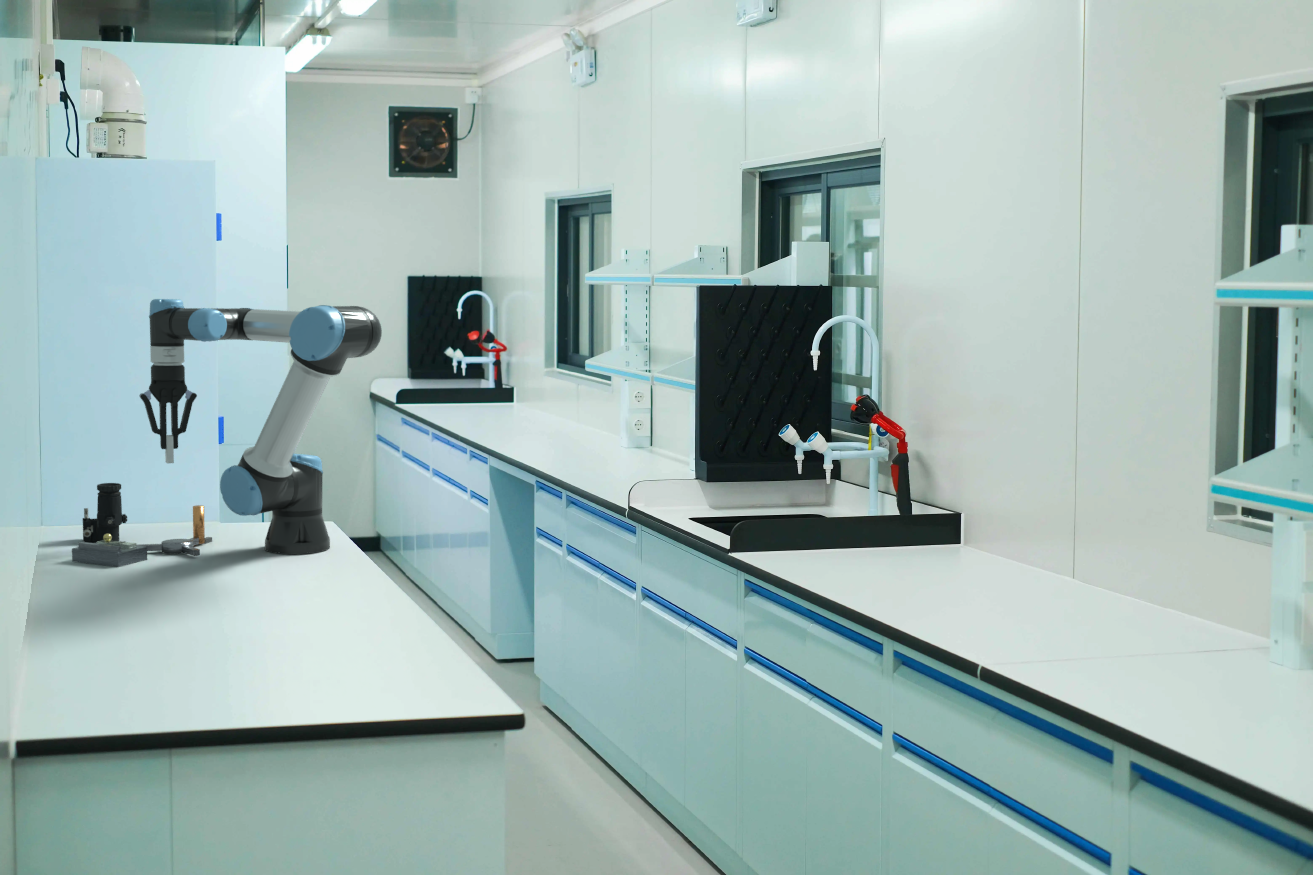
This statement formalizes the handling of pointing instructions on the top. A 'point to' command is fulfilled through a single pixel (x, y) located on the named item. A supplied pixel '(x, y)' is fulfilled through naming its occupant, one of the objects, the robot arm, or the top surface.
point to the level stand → (109, 552)
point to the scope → (105, 514)
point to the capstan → (184, 544)
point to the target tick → (208, 539)
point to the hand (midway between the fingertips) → (169, 462)
